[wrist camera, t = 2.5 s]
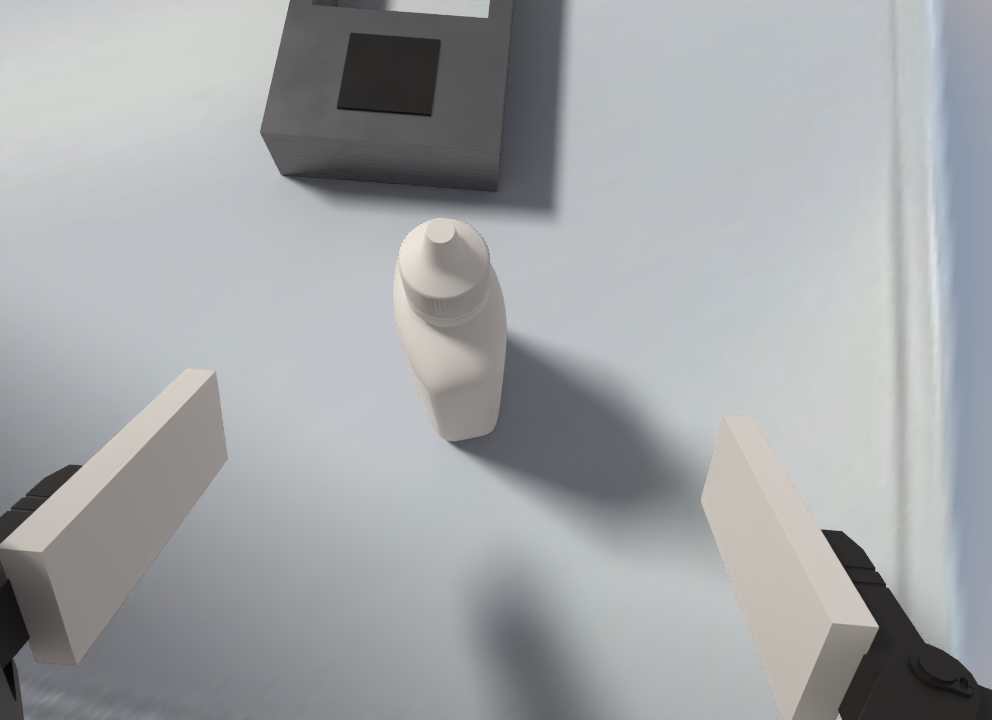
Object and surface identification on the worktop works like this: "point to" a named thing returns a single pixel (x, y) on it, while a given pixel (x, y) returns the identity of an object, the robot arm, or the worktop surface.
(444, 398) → the eye dropper bottle
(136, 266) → the worktop surface
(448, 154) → the grey compartment tray
